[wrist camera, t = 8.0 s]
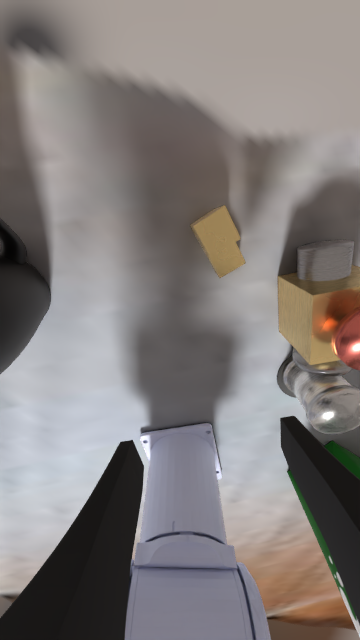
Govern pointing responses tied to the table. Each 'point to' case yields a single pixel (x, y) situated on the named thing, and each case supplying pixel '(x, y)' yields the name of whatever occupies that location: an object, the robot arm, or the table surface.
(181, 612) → the robot arm
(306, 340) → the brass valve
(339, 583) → the milk carton
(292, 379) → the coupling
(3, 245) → the mug
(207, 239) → the elbow
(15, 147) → the table surface
